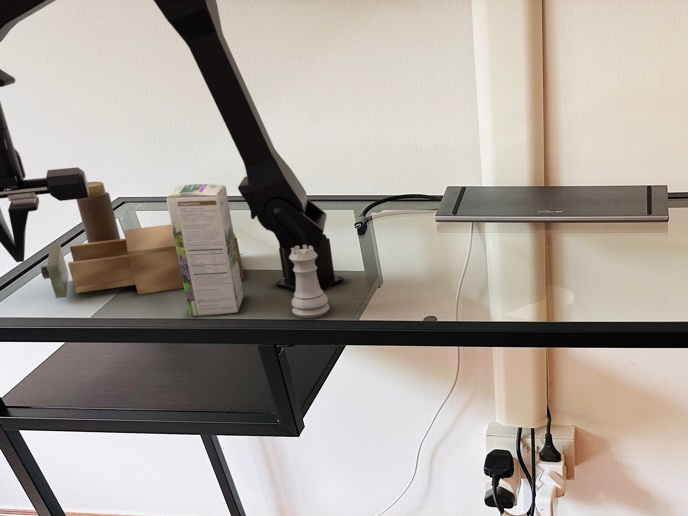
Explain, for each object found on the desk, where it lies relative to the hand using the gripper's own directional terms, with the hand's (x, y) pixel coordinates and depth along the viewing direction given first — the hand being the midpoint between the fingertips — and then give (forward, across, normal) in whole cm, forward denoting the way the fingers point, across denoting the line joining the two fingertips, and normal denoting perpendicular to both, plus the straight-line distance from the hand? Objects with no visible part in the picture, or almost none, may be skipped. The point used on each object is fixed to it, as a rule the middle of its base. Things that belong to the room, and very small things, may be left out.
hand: (20, 261), depth 102 cm
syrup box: (+6, -21, +13) cm, 25 cm away
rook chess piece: (+6, -31, +20) cm, 37 cm away
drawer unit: (+5, -19, -2) cm, 20 cm away
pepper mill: (+5, -9, -14) cm, 17 cm away
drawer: (+5, -8, -3) cm, 10 cm away
